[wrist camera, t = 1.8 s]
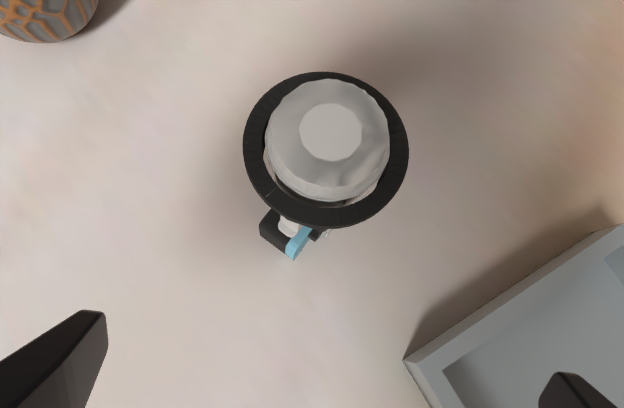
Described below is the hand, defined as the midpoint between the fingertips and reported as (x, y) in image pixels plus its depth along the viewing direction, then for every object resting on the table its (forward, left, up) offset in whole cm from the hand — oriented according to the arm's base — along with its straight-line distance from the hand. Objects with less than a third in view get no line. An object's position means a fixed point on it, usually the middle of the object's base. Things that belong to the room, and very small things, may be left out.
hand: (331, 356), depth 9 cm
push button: (+4, +5, -13) cm, 15 cm away
